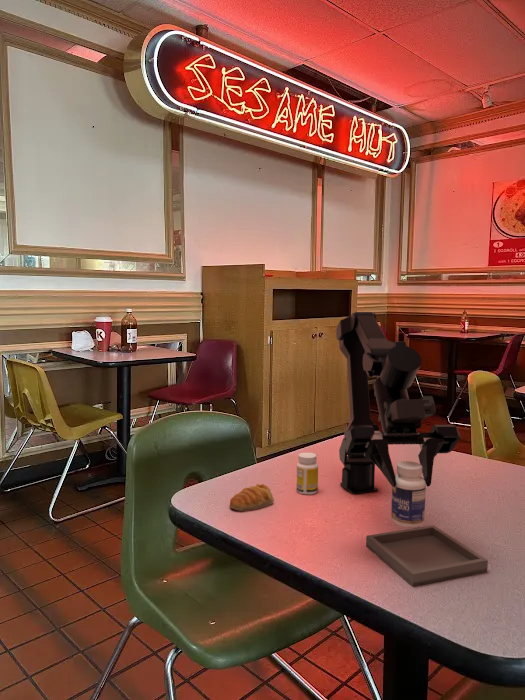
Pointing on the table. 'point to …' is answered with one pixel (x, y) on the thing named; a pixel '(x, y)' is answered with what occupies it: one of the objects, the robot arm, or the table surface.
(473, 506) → the table surface
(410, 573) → the tray
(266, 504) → the pastry
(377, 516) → the table surface
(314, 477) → the supplement bottle
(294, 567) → the table surface
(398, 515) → the pill bottle
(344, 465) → the robot arm
